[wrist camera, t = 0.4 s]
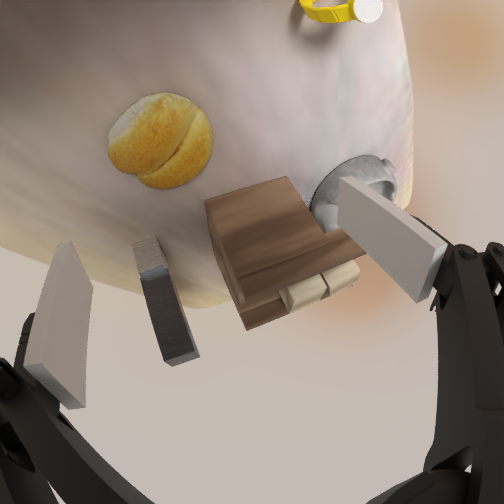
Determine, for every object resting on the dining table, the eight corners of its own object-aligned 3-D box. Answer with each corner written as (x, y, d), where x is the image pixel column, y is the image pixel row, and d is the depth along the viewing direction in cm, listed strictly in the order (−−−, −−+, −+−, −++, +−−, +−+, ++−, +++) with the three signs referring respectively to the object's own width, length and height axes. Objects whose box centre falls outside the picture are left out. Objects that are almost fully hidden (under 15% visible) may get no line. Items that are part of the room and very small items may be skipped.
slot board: (204, 200, 32) (246, 296, 27) (328, 165, 36) (384, 239, 30) (214, 255, 43) (246, 331, 37) (312, 221, 46) (351, 285, 40)
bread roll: (161, 185, 28) (170, 215, 26) (92, 142, 21) (92, 172, 19) (227, 132, 26) (242, 158, 24) (165, 71, 18) (175, 92, 17)
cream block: (317, 265, 34) (330, 287, 32) (347, 249, 34) (360, 271, 32) (318, 277, 37) (329, 297, 36) (345, 262, 37) (357, 282, 36)
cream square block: (282, 277, 32) (294, 301, 31) (314, 264, 33) (327, 287, 32) (278, 292, 36) (289, 313, 34) (308, 280, 36) (319, 300, 35)
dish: (309, 229, 49) (324, 254, 46) (298, 179, 36) (318, 209, 34) (380, 191, 48) (397, 213, 45) (388, 136, 35) (411, 160, 33)
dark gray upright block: (130, 245, 33) (161, 359, 27) (157, 235, 34) (193, 348, 27) (144, 267, 38) (174, 368, 31) (167, 258, 39) (201, 358, 32)
